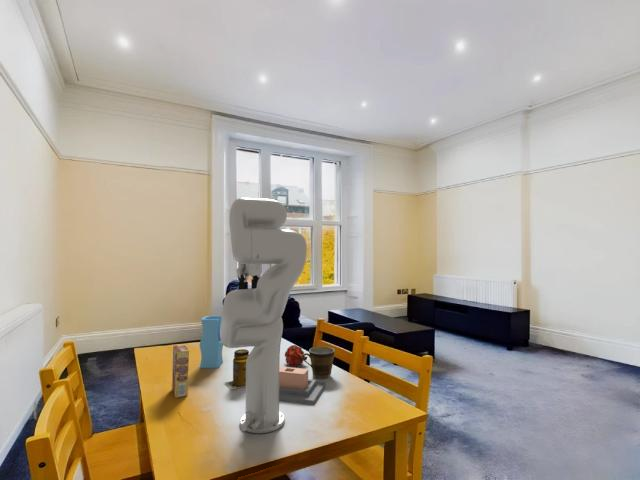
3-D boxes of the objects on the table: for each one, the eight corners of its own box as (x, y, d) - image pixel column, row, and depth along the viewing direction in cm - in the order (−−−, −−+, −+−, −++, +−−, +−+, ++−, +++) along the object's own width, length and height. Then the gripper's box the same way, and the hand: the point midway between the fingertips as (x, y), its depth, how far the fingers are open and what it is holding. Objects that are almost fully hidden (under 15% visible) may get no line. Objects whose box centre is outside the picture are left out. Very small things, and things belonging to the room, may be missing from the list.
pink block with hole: (270, 388, 122) (270, 370, 123) (276, 382, 127) (276, 366, 127) (304, 391, 119) (304, 374, 120) (308, 386, 124) (308, 369, 124)
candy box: (189, 395, 119) (189, 350, 120) (175, 398, 117) (175, 352, 117) (184, 386, 127) (185, 343, 127) (171, 389, 125) (172, 345, 125)
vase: (218, 368, 146) (218, 319, 147) (199, 368, 147) (199, 319, 147) (223, 361, 154) (224, 315, 155) (205, 361, 154) (206, 315, 155)
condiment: (253, 385, 129) (253, 351, 129) (231, 390, 124) (231, 355, 124) (246, 378, 135) (246, 347, 135) (224, 383, 130) (224, 350, 130)
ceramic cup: (328, 370, 144) (328, 345, 145) (338, 378, 135) (338, 352, 135) (298, 374, 140) (298, 348, 140) (306, 383, 130) (306, 356, 131)
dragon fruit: (290, 363, 158) (301, 375, 147) (276, 354, 154) (287, 366, 143) (301, 346, 159) (313, 358, 149) (288, 338, 156) (299, 348, 145)
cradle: (313, 404, 113) (313, 393, 113) (250, 396, 119) (250, 386, 119) (325, 385, 128) (325, 375, 128) (269, 379, 134) (269, 370, 134)
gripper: (248, 243, 116) (248, 295, 115) (269, 243, 132) (269, 289, 132) (228, 243, 118) (227, 294, 117) (251, 243, 134) (250, 288, 134)
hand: (249, 291), depth 125 cm, fingers open, 9 cm apart
